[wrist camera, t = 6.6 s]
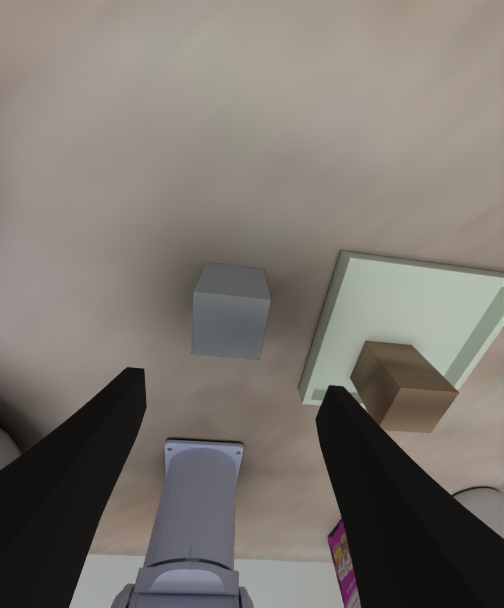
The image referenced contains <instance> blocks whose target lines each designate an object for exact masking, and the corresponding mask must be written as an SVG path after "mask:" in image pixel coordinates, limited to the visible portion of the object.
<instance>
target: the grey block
mask: <svg viewBox="0 0 504 608" xmlns="http://www.w3.org/2000/svg"><path fill="white" fill-rule="evenodd" d="M270 302H271V299H270V294H269V290H268V285H267V281H266V277H265V272H264V269H261V268H253V267H244V266H236V265H228V264H220V263H211V262H206V264H205V266H204V268H203V271H202V273H201V276H200V278H199V280H198V283H197V285H196V287H195V290H194V295H193V324H192V353H191V354H198V355H209V356H220V357H232V358H243V359H255V360H259V359H260V354H261V349H262V344H263V339H264V333H265V328H266V323H267V318H268V313H269V307H270Z"/></svg>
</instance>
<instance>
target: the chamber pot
mask: <svg viewBox="0 0 504 608" xmlns="http://www.w3.org/2000/svg"><path fill="white" fill-rule="evenodd" d="M21 455H22V452H21V450H20V449H19V448H18V446H17V445H16V444H15V442H14V441H13V440H12V438H11V437H10V436H9V434H7V433H6V432H5V431H3V430H2V429H1V428H0V470H1V469H2V468H4V467H5V466H7V465H8V464H9V463H11V462H12V461H14V460H15V459H16V458H18V457H19V456H21Z"/></svg>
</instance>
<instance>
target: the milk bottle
mask: <svg viewBox="0 0 504 608" xmlns="http://www.w3.org/2000/svg"><path fill="white" fill-rule="evenodd" d="M453 497H454V498H455V499H456V500H457V501H458V502H460V503H461V504H462V505H463V506H464V507H465V508H467V509H468V510H469V511H470V512H471V513H473V514H474V515H475V516H476V517H478V518H479V519H480V520H481V521H483V522H484V523H485V524H486V525H487V526H489V527H490V528H491V529H492V530H494V531H495V532H496V533H497V534H499V535H500V536H501V537H502V538H504V496H503V495H502V494H500V493H499V492H498V491H496V490H494V489H489V488H478V489H472V490H468V491H464V492H462V493H459V494H457V495H455V496H453Z"/></svg>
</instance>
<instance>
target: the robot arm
mask: <svg viewBox="0 0 504 608" xmlns="http://www.w3.org/2000/svg"><path fill="white" fill-rule="evenodd" d="M146 407H147V405H146V389H145V373H144V369H142V368H130V367H127V368H126V369H124V370H123V371H122V372H121V373H120V374H119V375H118V376H117V377H116V378H114V379H113V380H112V381H111V382H110V383H109V384H108V385H107V386H106V387H105V388H103V389H102V390H101V391H100V392H99V393H98V394H97V395H96V396H94V397H93V398H92V399H91V400H90V401H89V402H87V403H86V404H85V405H84V406H83V407H82V408H80V409H79V410H78V411H77V412H76V413H75V414H73V415H72V416H71V417H70V418H69V419H67V420H66V421H65V422H64V423H62V424H61V425H60V426H58V427H57V428H56V429H55V430H53V431H52V432H51V433H50V434H48V435H47V436H46V437H45V438H43V439H42V440H41V441H39V442H38V443H37V444H35V445H34V446H33V447H31V448H30V449H29V450H27V451H26V452H25V453H23V454H22V455H21V456H19V457H18V458H16V459H15V460H14V461H12V462H11V463H9V464H8V465H7V466H5V467H4V468H2V469H1V470H0V608H69V606H70V603H71V600H72V597H73V594H74V591H75V589H76V586H77V583H78V580H79V577H80V574H81V571H82V568H83V566H84V562H85V560H86V557H87V554H88V551H89V549H90V546H91V543H92V540H93V538H94V535H95V532H96V529H97V527H98V524H99V521H100V519H101V516H102V514H103V511H104V509H105V506H106V504H107V502H108V500H109V497H110V495H111V493H112V491H113V488H114V486H115V484H116V482H117V480H118V477H119V475H120V473H121V471H122V469H123V466H124V464H125V462H126V460H127V457H128V455H129V453H130V451H131V448H132V446H133V444H134V442H135V439H136V437H137V435H138V432H139V429H140V426H141V423H142V420H143V417H144V414H145V410H146ZM315 420H316V426H317V432H318V437H319V442H320V447H321V450H322V454H323V457H324V460H325V464H326V467H327V470H328V474H329V477H330V480H331V484H332V487H333V490H334V493H335V497H336V500H337V503H338V507H339V510H340V513H341V517H342V521H343V524H344V528H345V533H346V537H347V542H348V546H349V551H350V556H351V560H352V565H353V570H354V575H355V580H356V585H357V590H358V595H359V600H360V605H361V608H504V538H502V537H501V536H500V535H499V534H497V533H496V532H495V531H494V530H492V529H491V528H490V527H489V526H487V525H486V524H485V523H484V522H483V521H481V520H480V519H479V518H478V517H476V516H475V515H474V514H473V513H471V512H470V511H469V510H468V509H467V508H465V507H464V506H463V505H462V504H461V503H460V502H458V501H457V500H456V499H455V498H454V497H453V496H451V495H450V494H449V493H448V492H447V491H446V490H445V489H444V488H442V487H441V486H440V485H439V484H438V483H437V482H436V481H435V480H433V479H432V478H431V477H430V476H429V475H428V474H427V473H426V472H425V471H424V470H423V469H422V468H421V467H419V466H418V465H417V464H416V463H415V462H414V461H413V460H412V459H411V458H410V457H409V456H408V455H407V454H406V453H405V452H404V451H403V450H402V449H401V448H400V447H399V446H398V445H397V444H396V443H395V442H394V441H393V440H392V439H391V437H390V436H389V435H388V434H387V433H386V432H385V431H384V430H383V429H382V428H381V427H380V426H379V425H378V424H377V422H376V421H375V420H374V419H373V418H372V417H371V416H370V415H369V414H368V413H367V411H366V410H365V409H364V408H363V407H362V406H361V405H360V404H359V403H358V401H357V400H356V399H355V398H354V397H353V396H352V395H351V394H350V393H349V392H348V390H347V389H346V388H345V387H344V386H336V385H329V386H328V388H327V391H326V394H325V396H324V399H323V401H322V404H321V406H320V409H319V411H318V414H317V417H316V419H315ZM243 450H244V448H243V445H242V444H239V443H221V442H203V441H185V440H167V441H166V443H165V474H166V479H165V483H164V487H163V491H162V495H161V499H160V503H159V506H158V510H157V514H156V518H155V522H154V526H153V530H152V534H151V538H150V542H149V546H148V550H147V554H146V558H145V562H144V566H143V568H140V569H139V572H138V576H137V579H136V583H135V584H127V585H126V586H125V587H124V589H123V590H122V591H121V592H120V593H119V594H118V595H117V596H116V598H115V599H114V601H113V603H112V606H111V608H254V606H253V602H252V600H251V598H250V596H249V595H248V592H247V590H246V588H245V587H239V572H238V571H234V539H235V493H236V485H237V480H238V475H239V470H240V465H241V460H242V455H243Z"/></svg>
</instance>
